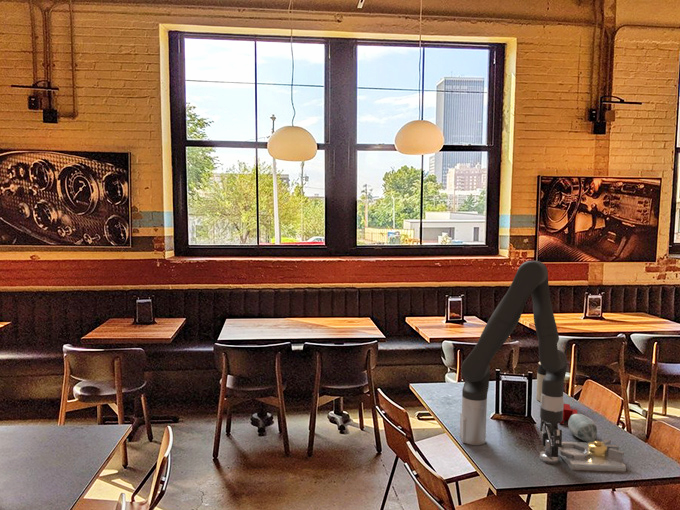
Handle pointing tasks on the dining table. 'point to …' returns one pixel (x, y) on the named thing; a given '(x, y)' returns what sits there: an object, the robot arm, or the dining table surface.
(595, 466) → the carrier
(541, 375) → the travel mug
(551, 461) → the silver knob
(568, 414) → the mechanical linkage
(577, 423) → the streaked stone egg
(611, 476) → the dining table surface
